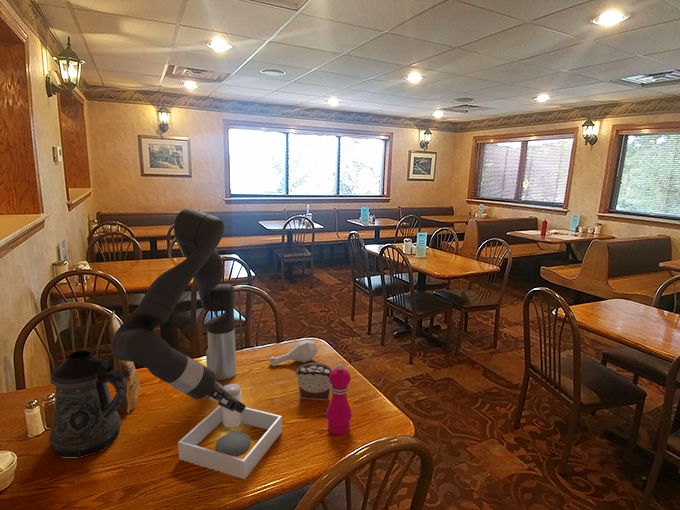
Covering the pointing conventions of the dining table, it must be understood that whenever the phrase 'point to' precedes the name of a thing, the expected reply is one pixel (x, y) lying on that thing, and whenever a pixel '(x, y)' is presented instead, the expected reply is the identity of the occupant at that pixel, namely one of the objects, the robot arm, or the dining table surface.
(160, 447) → the dining table surface
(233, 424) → the sugar shaker
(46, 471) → the dining table surface
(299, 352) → the chicken leg
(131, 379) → the pancake mix bag
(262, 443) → the grey square frame
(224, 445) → the coaster
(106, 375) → the beer stein
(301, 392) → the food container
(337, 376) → the pepper mill
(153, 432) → the dining table surface
